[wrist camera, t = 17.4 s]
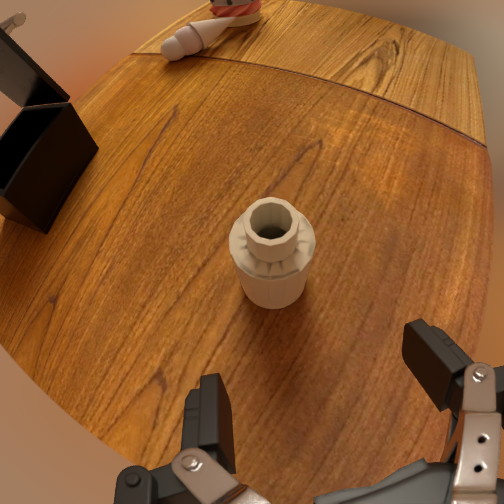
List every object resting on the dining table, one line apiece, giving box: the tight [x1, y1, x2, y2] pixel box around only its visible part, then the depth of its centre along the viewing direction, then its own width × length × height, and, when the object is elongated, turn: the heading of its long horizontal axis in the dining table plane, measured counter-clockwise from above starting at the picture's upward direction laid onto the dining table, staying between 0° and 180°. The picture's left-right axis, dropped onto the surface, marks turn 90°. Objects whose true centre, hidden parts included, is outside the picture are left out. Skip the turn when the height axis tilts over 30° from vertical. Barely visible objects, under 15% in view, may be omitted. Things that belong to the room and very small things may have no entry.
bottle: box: [229, 197, 316, 309], centre depth 22 cm, size 6×6×10 cm
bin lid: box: [0, 12, 70, 107], centre depth 22 cm, size 14×12×6 cm
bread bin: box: [0, 103, 99, 234], centre depth 31 cm, size 14×12×9 cm
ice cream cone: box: [161, 17, 237, 61], centre depth 42 cm, size 6×6×15 cm
